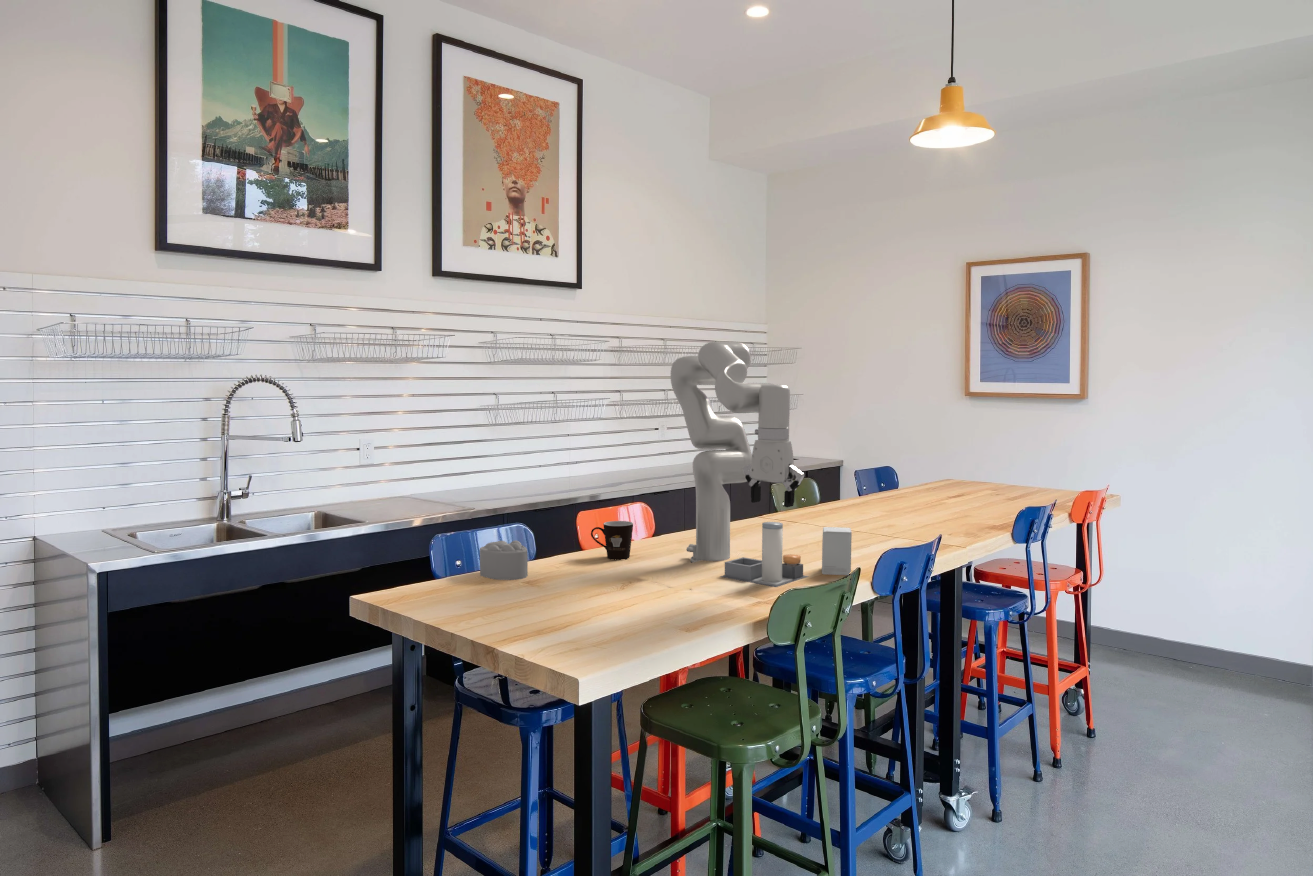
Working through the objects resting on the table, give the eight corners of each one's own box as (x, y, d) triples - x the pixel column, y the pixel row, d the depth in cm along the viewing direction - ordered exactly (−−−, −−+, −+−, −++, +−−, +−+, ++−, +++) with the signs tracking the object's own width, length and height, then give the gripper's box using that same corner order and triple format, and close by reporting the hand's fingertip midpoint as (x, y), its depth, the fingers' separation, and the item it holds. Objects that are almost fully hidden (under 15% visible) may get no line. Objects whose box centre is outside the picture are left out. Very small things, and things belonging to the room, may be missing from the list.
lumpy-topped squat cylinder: (505, 568, 235) (505, 537, 234) (537, 575, 226) (537, 542, 226) (474, 575, 227) (474, 542, 226) (506, 582, 218) (506, 548, 218)
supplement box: (851, 581, 219) (851, 532, 218) (821, 579, 221) (822, 531, 220) (850, 574, 226) (851, 527, 226) (821, 573, 228) (822, 526, 227)
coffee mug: (639, 556, 249) (639, 522, 249) (622, 562, 242) (622, 527, 241) (606, 552, 255) (606, 519, 255) (589, 557, 248) (588, 523, 248)
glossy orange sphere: (779, 573, 218) (779, 556, 218) (789, 570, 222) (789, 553, 221) (794, 576, 215) (794, 558, 215) (803, 573, 219) (803, 556, 218)
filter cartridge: (757, 579, 213) (758, 523, 212) (769, 576, 216) (769, 521, 215) (774, 582, 209) (775, 526, 208) (786, 579, 213) (786, 523, 212)
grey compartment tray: (719, 582, 218) (719, 562, 218) (753, 572, 229) (753, 553, 229) (775, 593, 207) (776, 572, 207) (808, 582, 218) (808, 562, 218)
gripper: (735, 433, 213) (734, 502, 215) (795, 438, 202) (794, 510, 203) (753, 432, 219) (752, 498, 220) (812, 436, 207) (810, 506, 209)
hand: (772, 504), depth 212 cm, fingers open, 9 cm apart
